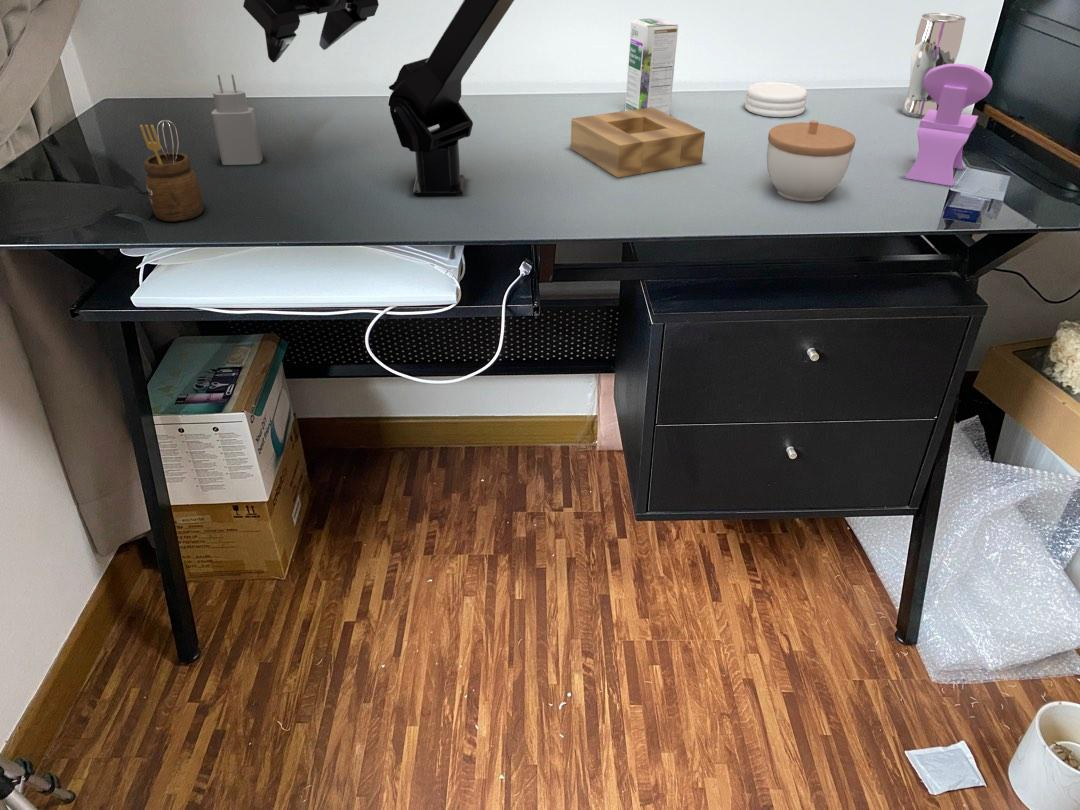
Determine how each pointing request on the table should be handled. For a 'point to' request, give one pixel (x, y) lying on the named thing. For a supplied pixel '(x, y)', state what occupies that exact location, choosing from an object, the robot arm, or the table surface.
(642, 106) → the syrup box
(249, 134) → the power adapter
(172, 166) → the utensil holder
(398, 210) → the table surface
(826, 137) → the trinket box
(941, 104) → the chair
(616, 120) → the block
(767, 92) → the white layered disc
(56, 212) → the table surface
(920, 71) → the silver tumbler
